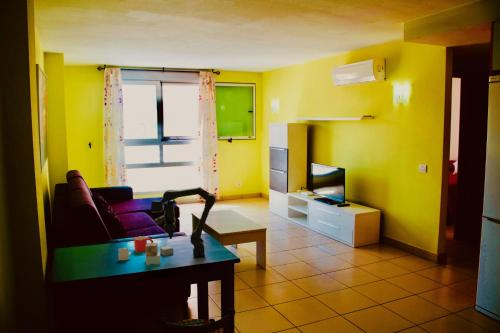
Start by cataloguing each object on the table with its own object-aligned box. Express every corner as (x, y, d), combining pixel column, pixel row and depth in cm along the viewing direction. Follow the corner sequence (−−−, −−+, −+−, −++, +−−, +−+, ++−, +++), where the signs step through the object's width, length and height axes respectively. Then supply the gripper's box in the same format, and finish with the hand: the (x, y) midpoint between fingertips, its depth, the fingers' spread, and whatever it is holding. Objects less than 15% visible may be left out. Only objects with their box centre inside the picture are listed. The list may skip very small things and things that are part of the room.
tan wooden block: (169, 251, 246) (169, 245, 246) (173, 254, 241) (173, 247, 241) (160, 253, 243) (160, 247, 242) (164, 256, 238) (164, 249, 237)
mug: (154, 250, 249) (153, 238, 248) (134, 252, 245) (134, 240, 244) (153, 246, 256) (152, 235, 255) (134, 248, 253) (133, 237, 252)
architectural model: (119, 259, 234) (118, 247, 233) (131, 258, 236) (130, 246, 235) (118, 261, 231) (118, 249, 230) (130, 260, 233) (130, 248, 232)
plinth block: (159, 259, 232) (159, 251, 231) (160, 264, 224) (160, 255, 224) (146, 261, 230) (145, 252, 229) (146, 265, 222) (145, 257, 222)
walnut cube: (157, 252, 230) (157, 242, 229) (156, 255, 224) (156, 245, 223) (147, 253, 229) (146, 243, 228) (146, 256, 223) (145, 246, 222)
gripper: (156, 209, 240) (158, 233, 241) (154, 216, 221) (156, 242, 223) (174, 207, 242) (176, 232, 243) (174, 214, 223) (175, 240, 225)
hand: (170, 236), depth 234 cm, fingers open, 9 cm apart
